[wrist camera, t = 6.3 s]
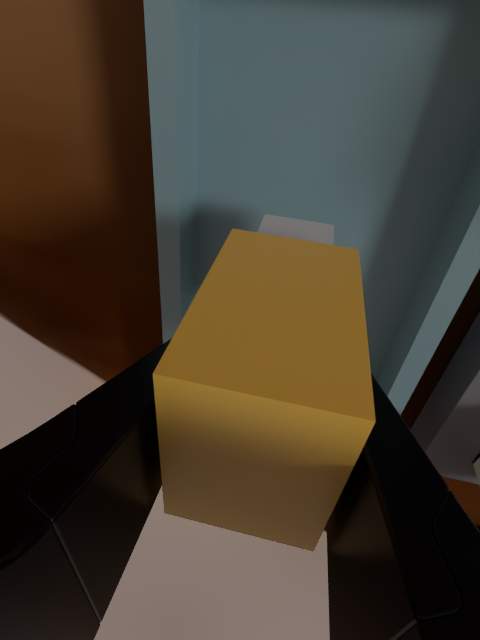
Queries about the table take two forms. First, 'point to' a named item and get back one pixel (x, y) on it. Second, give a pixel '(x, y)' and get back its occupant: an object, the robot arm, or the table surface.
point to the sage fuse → (477, 469)
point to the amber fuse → (267, 385)
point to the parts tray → (324, 150)
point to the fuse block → (454, 413)
